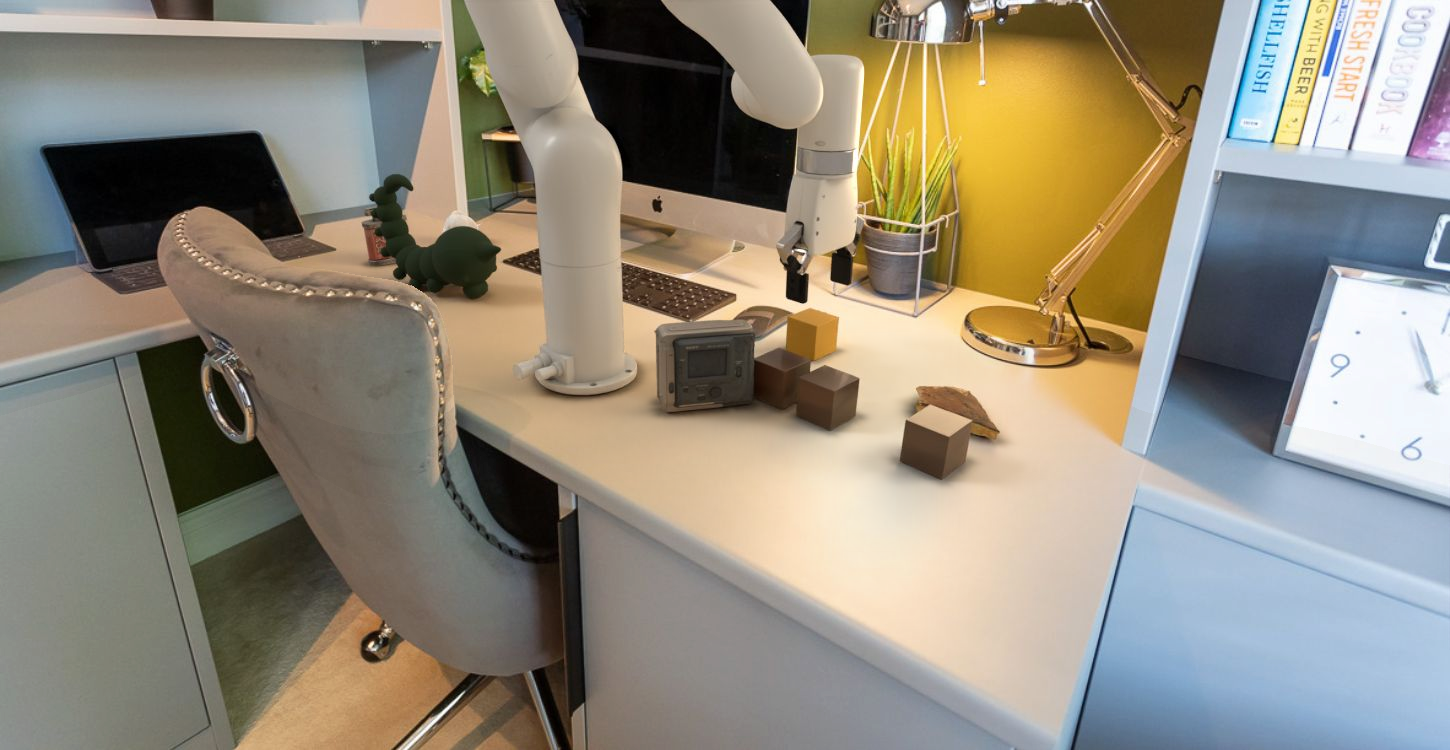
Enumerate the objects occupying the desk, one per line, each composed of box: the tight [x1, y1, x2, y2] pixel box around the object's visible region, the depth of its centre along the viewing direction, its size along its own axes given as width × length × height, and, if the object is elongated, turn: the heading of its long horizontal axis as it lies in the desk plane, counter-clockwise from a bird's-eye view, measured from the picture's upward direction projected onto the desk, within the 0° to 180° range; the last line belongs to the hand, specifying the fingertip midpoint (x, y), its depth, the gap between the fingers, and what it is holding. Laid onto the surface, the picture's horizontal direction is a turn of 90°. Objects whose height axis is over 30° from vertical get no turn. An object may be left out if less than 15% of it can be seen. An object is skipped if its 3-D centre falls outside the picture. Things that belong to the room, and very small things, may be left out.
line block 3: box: [899, 405, 973, 480], centre depth 82 cm, size 5×5×5 cm
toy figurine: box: [368, 173, 502, 300], centre depth 123 cm, size 9×19×25 cm
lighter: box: [361, 205, 408, 267], centre depth 138 cm, size 8×3×10 cm, turn 144°
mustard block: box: [785, 307, 840, 361], centre depth 107 cm, size 5×5×5 cm
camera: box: [653, 319, 756, 413], centre depth 91 cm, size 11×6×10 cm, turn 102°
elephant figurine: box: [441, 209, 484, 234], centre depth 150 cm, size 7×8×6 cm
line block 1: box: [753, 347, 812, 411], centre depth 94 cm, size 5×5×5 cm
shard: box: [915, 385, 1001, 440], centre depth 91 cm, size 11×8×2 cm
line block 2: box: [795, 364, 861, 431], centre depth 90 cm, size 5×5×5 cm
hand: (819, 291), depth 105 cm, fingers open, 9 cm apart
